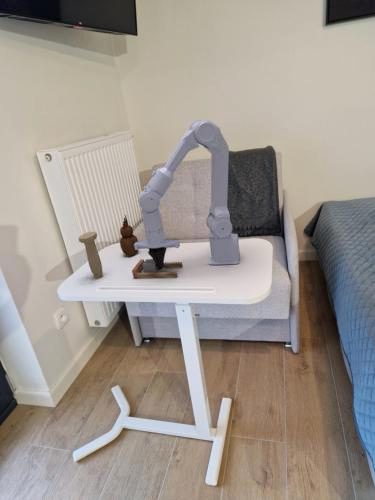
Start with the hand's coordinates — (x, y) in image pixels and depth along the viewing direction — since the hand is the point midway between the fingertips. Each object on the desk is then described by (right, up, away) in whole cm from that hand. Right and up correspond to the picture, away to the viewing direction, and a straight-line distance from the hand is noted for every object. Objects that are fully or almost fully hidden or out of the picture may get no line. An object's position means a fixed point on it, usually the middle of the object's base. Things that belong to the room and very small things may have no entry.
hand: (161, 268), depth 106 cm
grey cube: (-3, -1, +1) cm, 4 cm away
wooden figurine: (-13, +4, +19) cm, 23 cm away
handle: (-22, -3, +4) cm, 22 cm away
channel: (-1, -1, +1) cm, 2 cm away
